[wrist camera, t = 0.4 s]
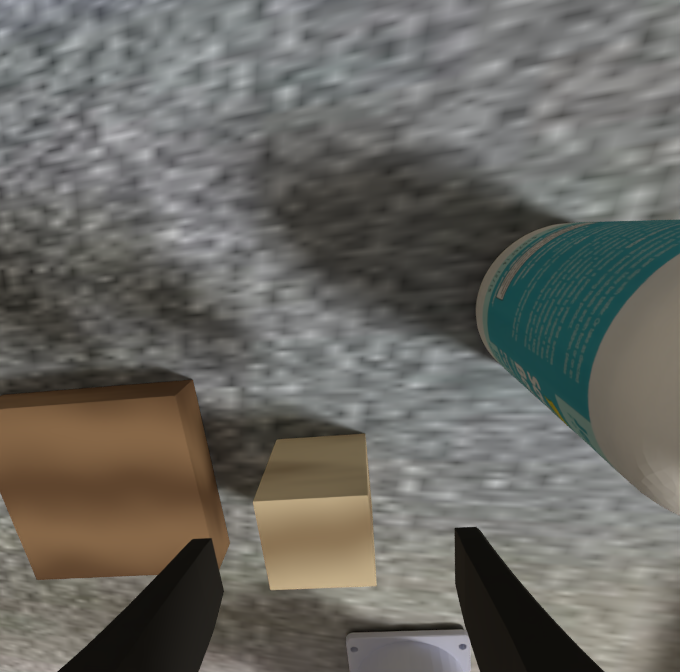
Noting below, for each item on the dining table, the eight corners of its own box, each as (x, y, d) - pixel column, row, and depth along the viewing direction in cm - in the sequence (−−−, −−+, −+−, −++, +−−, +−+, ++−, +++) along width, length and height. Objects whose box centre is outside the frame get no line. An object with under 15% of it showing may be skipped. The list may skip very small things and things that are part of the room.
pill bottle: (449, 352, 19) (662, 626, 6) (504, 204, 17) (1033, 107, 4) (586, 389, 19) (1090, 733, 6) (657, 248, 17) (1662, 302, 4)
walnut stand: (229, 543, 23) (218, 571, 21) (63, 551, 23) (36, 579, 21) (192, 379, 20) (175, 395, 18) (3, 394, 20) (-34, 411, 18)
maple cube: (371, 507, 22) (376, 586, 17) (289, 511, 22) (270, 590, 17) (365, 432, 20) (368, 495, 15) (276, 438, 21) (253, 501, 16)
